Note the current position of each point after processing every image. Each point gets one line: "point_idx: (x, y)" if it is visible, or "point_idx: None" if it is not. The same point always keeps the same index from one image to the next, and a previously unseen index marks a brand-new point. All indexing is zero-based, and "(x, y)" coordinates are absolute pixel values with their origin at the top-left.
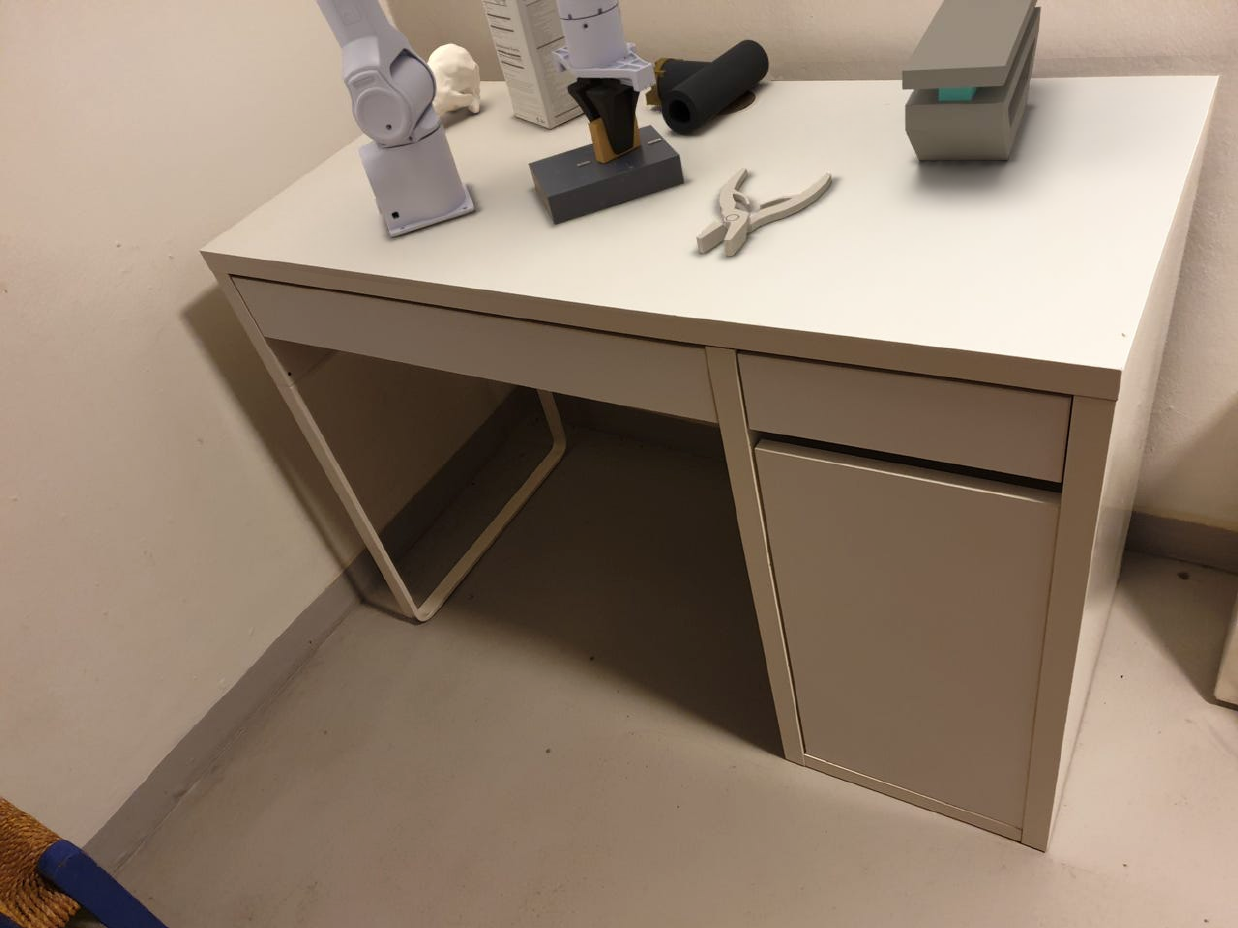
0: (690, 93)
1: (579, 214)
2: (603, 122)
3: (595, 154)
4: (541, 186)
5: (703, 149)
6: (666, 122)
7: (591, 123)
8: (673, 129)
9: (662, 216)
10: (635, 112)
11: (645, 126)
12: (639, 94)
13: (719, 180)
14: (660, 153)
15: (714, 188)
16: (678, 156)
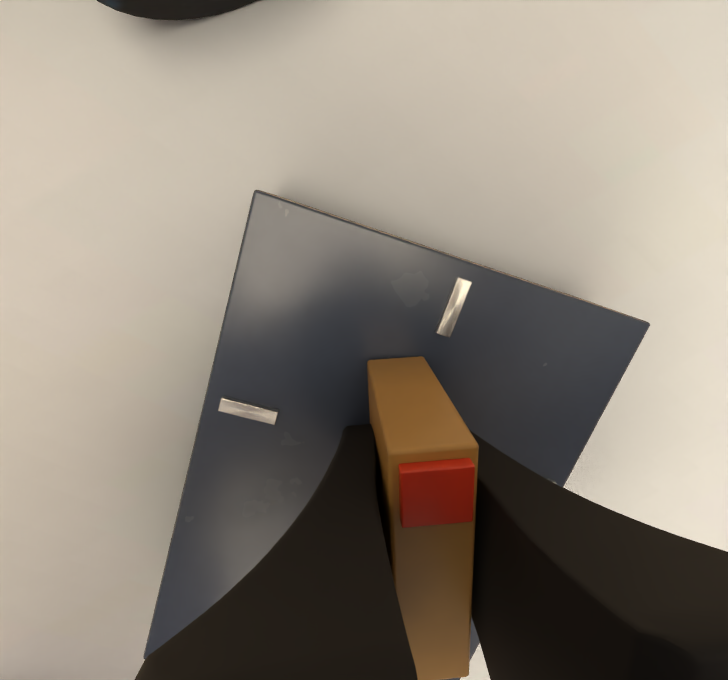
0: None
1: None
2: (482, 646)
3: None
4: None
5: (441, 67)
6: (134, 11)
7: (417, 677)
8: (182, 14)
9: (660, 449)
10: (551, 482)
11: (249, 218)
12: (694, 544)
13: (679, 220)
14: (564, 358)
15: (698, 266)
16: (646, 328)
